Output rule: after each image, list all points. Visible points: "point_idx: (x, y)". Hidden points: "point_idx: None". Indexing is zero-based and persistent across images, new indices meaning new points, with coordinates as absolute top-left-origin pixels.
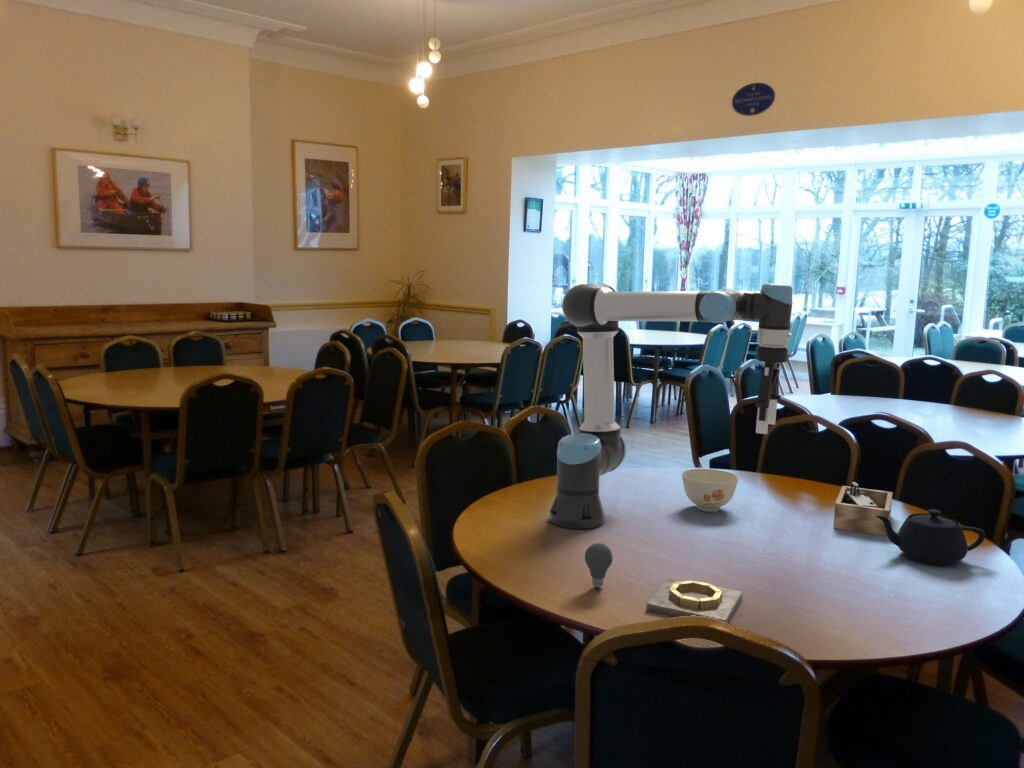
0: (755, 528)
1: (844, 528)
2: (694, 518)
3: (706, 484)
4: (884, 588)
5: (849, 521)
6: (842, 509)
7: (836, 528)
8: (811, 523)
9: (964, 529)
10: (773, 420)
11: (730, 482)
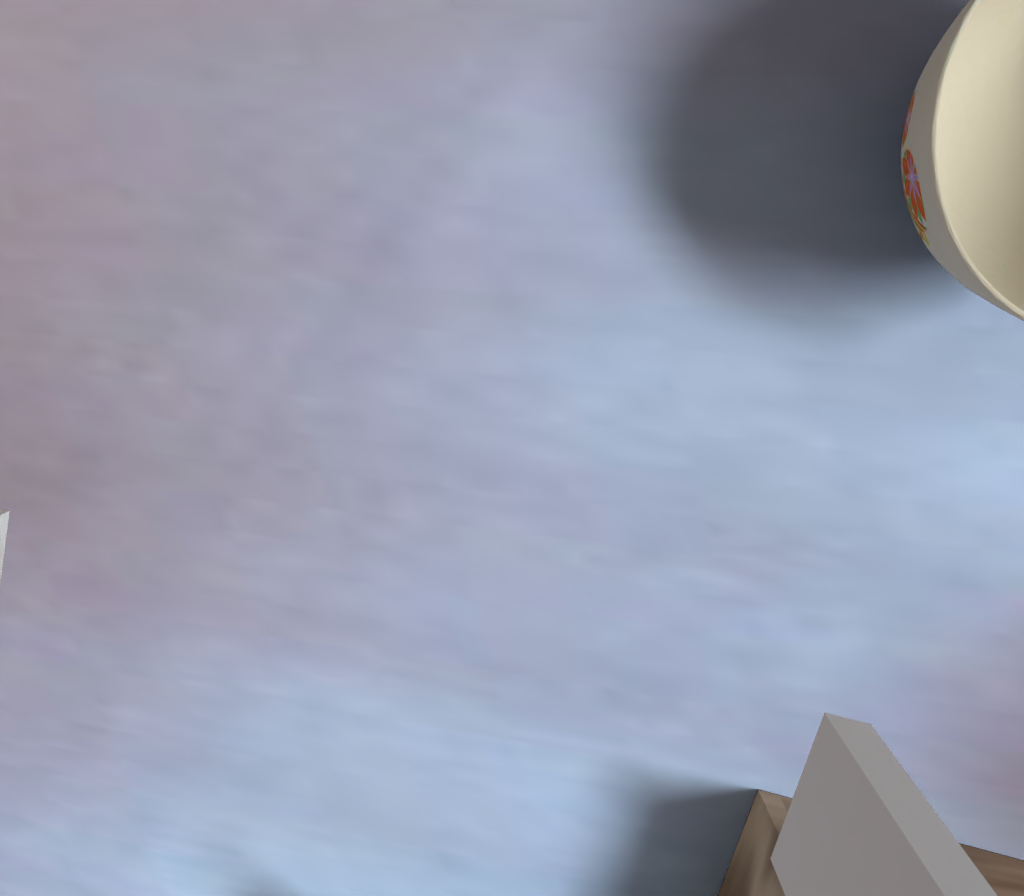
0: (669, 410)
1: (742, 837)
2: (786, 66)
3: (931, 86)
4: (11, 833)
5: (746, 882)
6: (776, 891)
7: (753, 802)
8: (817, 702)
9: None
10: (798, 886)
11: (975, 276)
